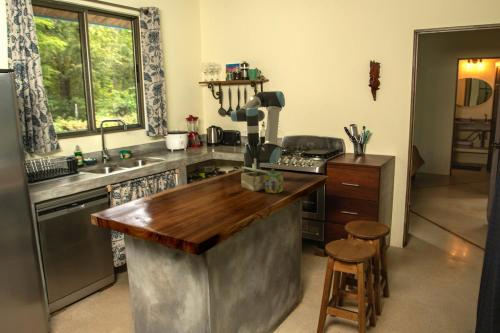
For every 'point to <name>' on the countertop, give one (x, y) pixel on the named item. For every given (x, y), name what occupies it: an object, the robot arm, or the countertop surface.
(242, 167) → the lid
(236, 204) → the countertop surface
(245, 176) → the crate
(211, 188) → the countertop surface
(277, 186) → the chalk box
